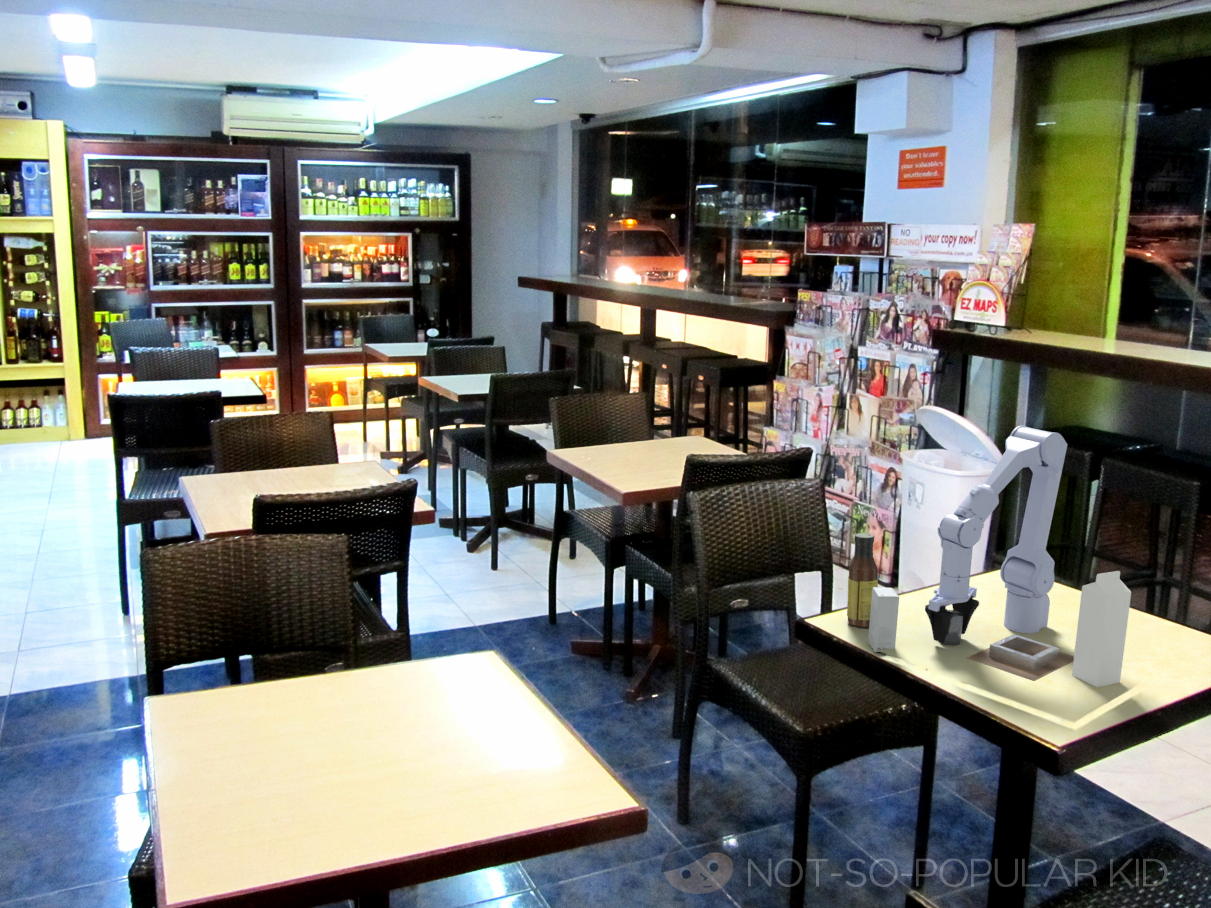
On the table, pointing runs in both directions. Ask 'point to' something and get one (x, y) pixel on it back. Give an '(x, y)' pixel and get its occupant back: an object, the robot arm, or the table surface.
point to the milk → (1102, 630)
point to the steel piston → (954, 629)
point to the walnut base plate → (1020, 671)
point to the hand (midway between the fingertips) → (949, 636)
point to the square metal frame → (1006, 653)
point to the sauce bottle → (861, 581)
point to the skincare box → (883, 618)
